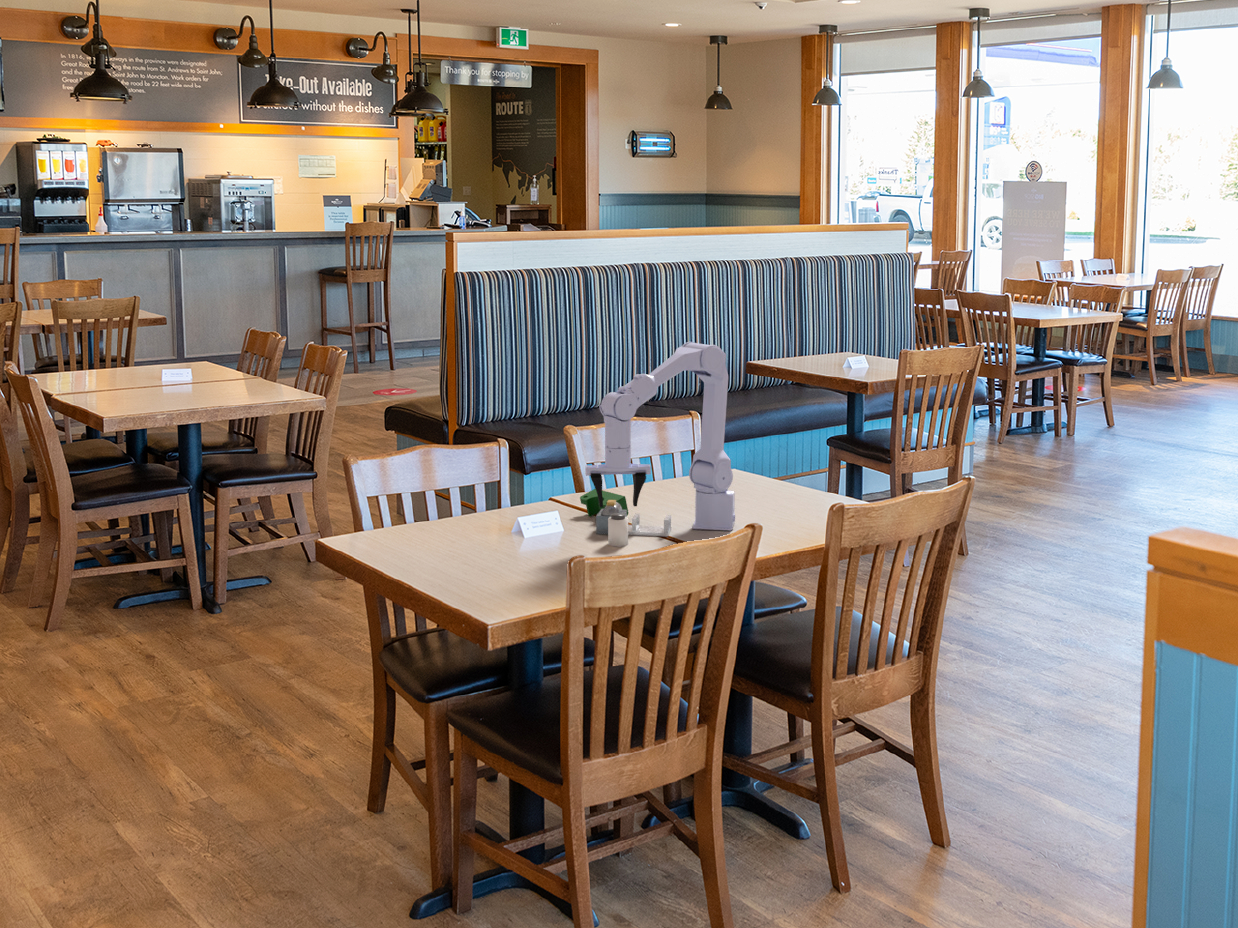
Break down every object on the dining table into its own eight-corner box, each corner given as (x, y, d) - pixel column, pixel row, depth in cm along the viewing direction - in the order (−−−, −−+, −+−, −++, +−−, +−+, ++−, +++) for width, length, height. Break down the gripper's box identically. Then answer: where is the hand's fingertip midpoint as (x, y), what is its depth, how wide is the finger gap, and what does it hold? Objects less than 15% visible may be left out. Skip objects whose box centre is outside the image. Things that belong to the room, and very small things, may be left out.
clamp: (589, 532, 305) (574, 499, 305) (607, 522, 309) (591, 490, 308) (615, 523, 295) (599, 489, 295) (633, 513, 299) (617, 480, 298)
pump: (629, 541, 280) (629, 512, 278) (626, 547, 275) (626, 517, 274) (610, 540, 280) (610, 512, 279) (606, 546, 276) (606, 516, 275)
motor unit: (671, 529, 290) (671, 499, 289) (667, 537, 283) (667, 506, 282) (601, 526, 293) (601, 497, 292) (596, 534, 286) (596, 504, 285)
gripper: (648, 442, 278) (648, 500, 281) (584, 443, 277) (584, 502, 279) (651, 448, 271) (651, 508, 274) (586, 449, 270) (586, 509, 272)
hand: (618, 505), depth 276 cm, fingers open, 7 cm apart
